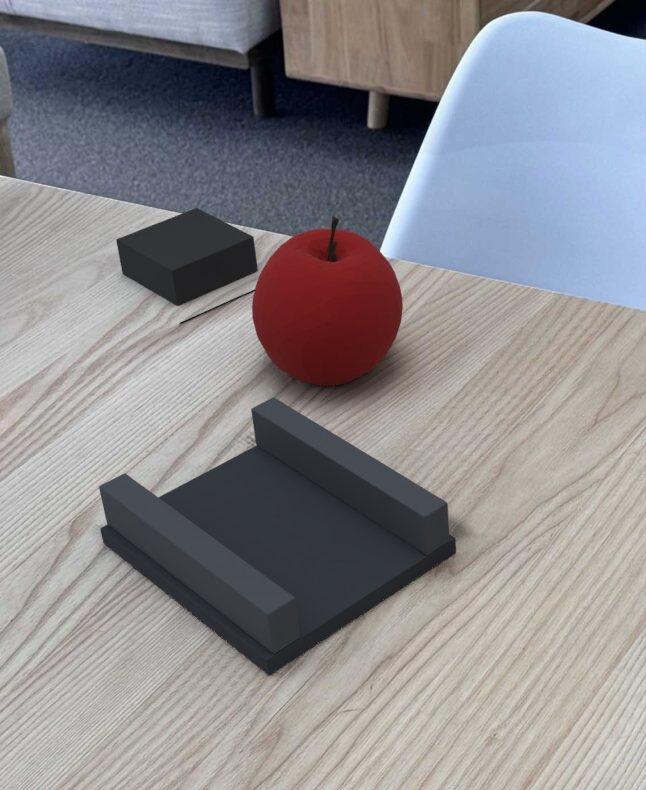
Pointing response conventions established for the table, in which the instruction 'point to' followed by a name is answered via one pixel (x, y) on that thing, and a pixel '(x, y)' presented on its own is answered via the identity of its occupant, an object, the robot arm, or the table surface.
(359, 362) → the apple
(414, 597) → the table surface
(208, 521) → the base pad
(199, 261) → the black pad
